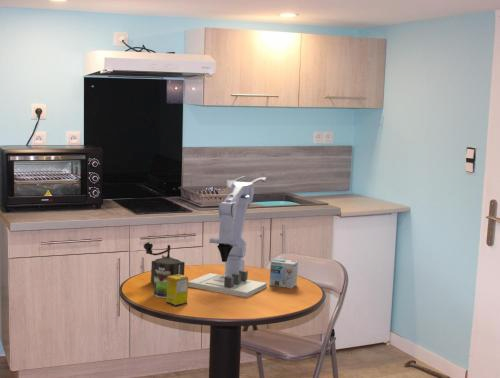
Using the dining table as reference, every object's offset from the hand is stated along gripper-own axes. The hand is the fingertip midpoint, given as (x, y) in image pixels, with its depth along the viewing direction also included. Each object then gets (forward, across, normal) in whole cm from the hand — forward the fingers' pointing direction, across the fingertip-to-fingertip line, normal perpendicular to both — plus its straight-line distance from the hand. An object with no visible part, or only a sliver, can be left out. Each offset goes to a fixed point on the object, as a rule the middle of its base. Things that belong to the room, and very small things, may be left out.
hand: (224, 261), depth 306 cm
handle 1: (+8, +7, -8) cm, 13 cm away
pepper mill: (+11, -22, -13) cm, 28 cm away
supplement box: (+11, -1, -35) cm, 37 cm away
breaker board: (+10, +3, -1) cm, 11 cm away
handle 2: (+8, +7, +5) cm, 12 cm away
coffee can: (+11, -11, -27) cm, 32 cm away
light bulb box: (+10, +21, +17) cm, 29 cm away
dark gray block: (+8, +7, -1) cm, 11 cm away
